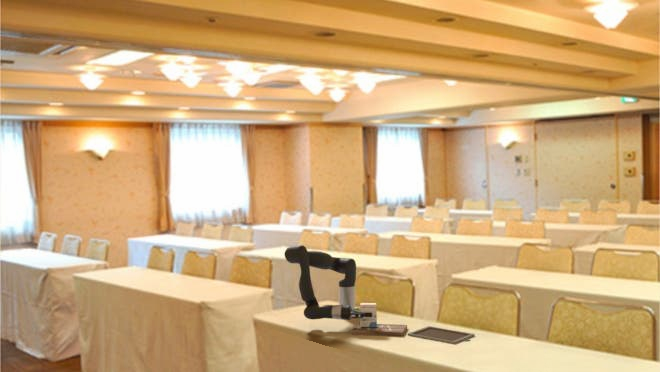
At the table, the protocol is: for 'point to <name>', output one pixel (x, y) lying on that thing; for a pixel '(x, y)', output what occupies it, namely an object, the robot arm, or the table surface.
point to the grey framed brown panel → (441, 335)
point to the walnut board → (381, 330)
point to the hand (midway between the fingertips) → (373, 313)
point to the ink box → (368, 320)
